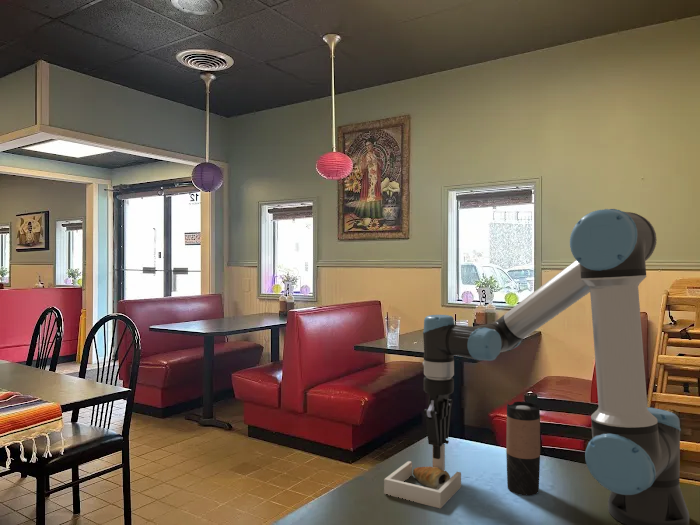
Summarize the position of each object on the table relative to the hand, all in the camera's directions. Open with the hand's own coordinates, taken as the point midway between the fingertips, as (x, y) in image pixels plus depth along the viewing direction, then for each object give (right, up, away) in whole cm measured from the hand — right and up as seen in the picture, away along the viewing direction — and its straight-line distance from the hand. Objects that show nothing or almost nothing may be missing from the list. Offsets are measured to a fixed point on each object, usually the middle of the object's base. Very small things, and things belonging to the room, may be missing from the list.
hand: (438, 469), depth 136 cm
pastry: (-2, -2, -3) cm, 5 cm away
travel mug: (+19, -2, -8) cm, 20 cm away
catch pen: (-5, -2, -8) cm, 10 cm away
